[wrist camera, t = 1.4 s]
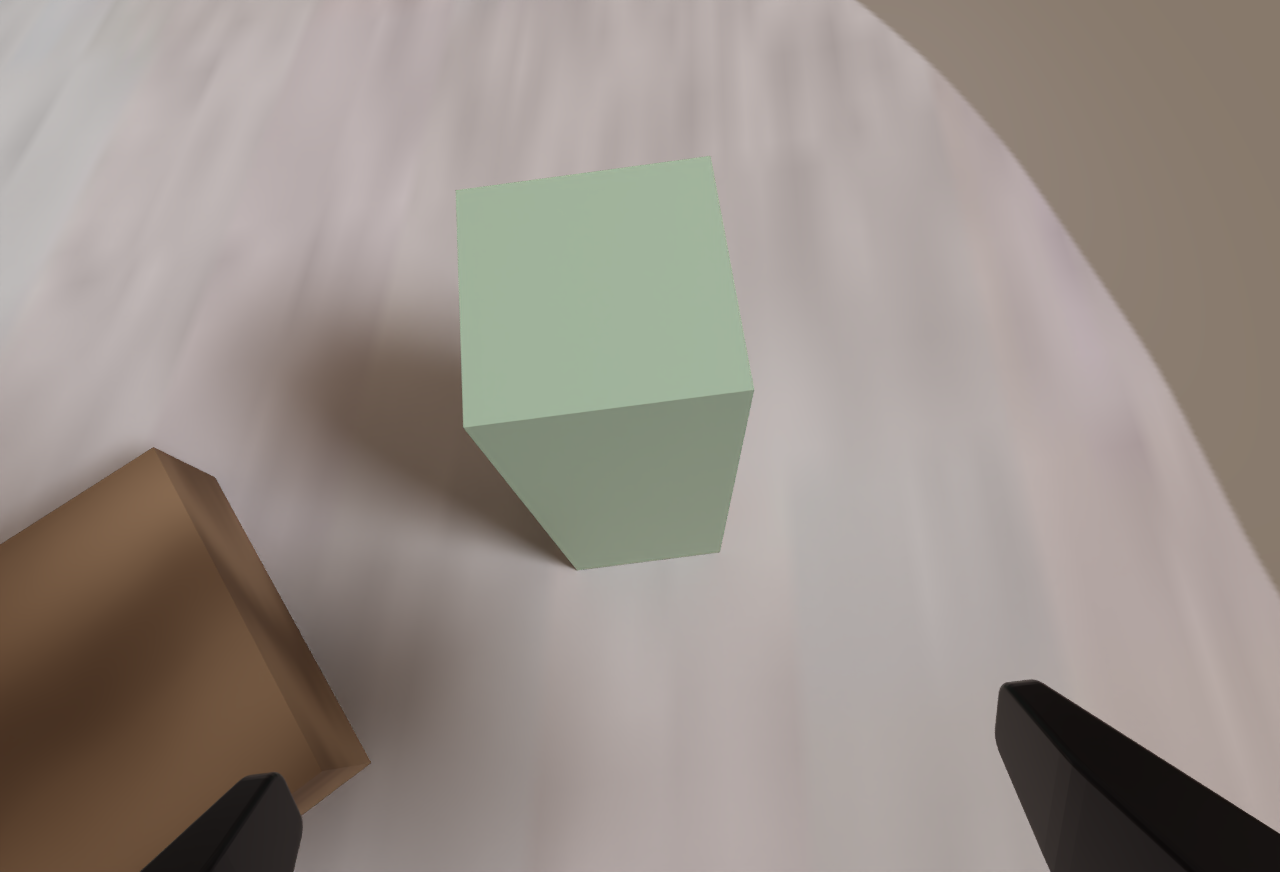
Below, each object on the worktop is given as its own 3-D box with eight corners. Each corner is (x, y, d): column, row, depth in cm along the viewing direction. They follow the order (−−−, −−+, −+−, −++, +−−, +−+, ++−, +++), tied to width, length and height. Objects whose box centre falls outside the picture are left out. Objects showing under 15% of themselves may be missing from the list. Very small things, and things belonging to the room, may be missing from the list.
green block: (719, 552, 23) (753, 390, 11) (577, 570, 23) (463, 427, 11) (699, 419, 24) (710, 156, 13) (565, 436, 25) (455, 190, 13)
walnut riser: (377, 761, 22) (322, 770, 19) (30, 1023, 20) (-99, 1085, 17) (222, 481, 25) (153, 447, 22) (-85, 682, 23) (-211, 678, 20)
